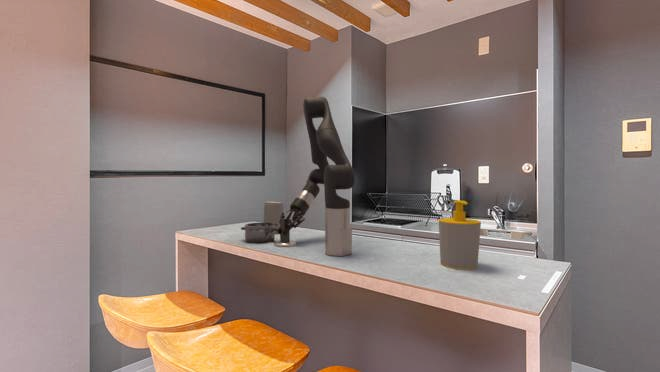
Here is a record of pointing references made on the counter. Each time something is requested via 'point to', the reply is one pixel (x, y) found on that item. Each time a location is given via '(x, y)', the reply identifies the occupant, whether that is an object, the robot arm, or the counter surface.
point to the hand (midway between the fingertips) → (281, 233)
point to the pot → (259, 232)
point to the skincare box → (273, 213)
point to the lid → (284, 239)
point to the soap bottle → (459, 240)
